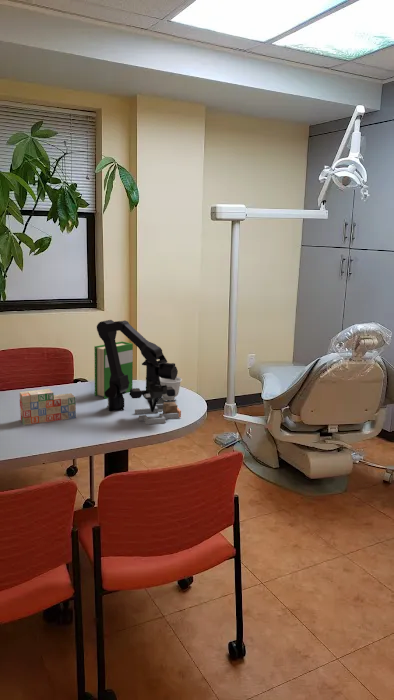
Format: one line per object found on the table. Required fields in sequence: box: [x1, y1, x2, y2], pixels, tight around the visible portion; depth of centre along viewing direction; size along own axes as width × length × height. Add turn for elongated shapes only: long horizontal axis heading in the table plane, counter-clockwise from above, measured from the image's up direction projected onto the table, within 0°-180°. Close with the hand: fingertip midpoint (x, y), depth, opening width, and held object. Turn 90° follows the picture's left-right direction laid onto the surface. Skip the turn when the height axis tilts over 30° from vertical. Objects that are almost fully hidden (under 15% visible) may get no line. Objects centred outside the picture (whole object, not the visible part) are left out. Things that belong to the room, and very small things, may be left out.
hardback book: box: [93, 340, 134, 400], centre depth 261 cm, size 18×7×24 cm, turn 141°
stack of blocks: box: [19, 388, 77, 425], centre depth 224 cm, size 21×6×12 cm, turn 118°
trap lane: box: [134, 403, 182, 425], centre depth 233 cm, size 18×19×3 cm
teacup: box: [160, 376, 183, 401], centre depth 257 cm, size 12×15×10 cm
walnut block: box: [162, 401, 178, 414], centre depth 235 cm, size 5×5×5 cm
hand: (152, 411), depth 233 cm, fingers closed
